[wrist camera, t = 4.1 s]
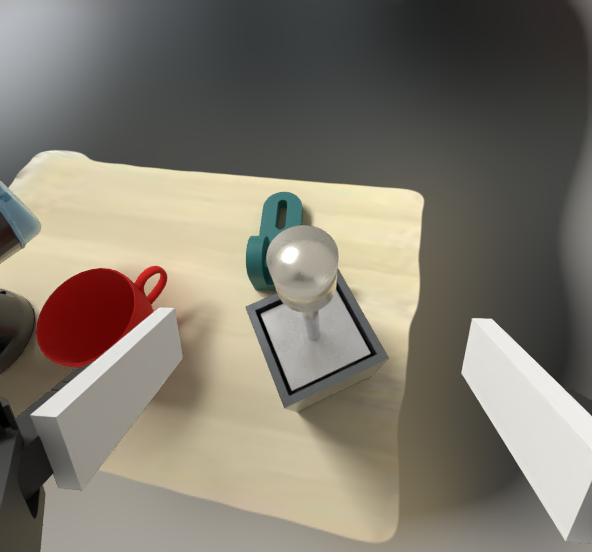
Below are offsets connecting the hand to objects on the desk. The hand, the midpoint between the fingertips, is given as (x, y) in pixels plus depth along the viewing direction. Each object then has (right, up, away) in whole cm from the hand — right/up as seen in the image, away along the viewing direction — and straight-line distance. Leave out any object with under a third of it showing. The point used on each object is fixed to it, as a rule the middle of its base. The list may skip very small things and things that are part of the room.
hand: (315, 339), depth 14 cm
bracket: (-3, +9, +39) cm, 41 cm away
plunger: (+1, -3, +19) cm, 19 cm away
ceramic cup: (-25, -5, +35) cm, 43 cm away
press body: (+1, -7, +31) cm, 32 cm away
